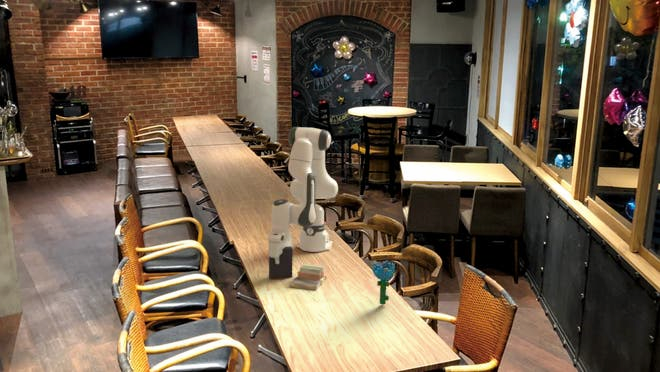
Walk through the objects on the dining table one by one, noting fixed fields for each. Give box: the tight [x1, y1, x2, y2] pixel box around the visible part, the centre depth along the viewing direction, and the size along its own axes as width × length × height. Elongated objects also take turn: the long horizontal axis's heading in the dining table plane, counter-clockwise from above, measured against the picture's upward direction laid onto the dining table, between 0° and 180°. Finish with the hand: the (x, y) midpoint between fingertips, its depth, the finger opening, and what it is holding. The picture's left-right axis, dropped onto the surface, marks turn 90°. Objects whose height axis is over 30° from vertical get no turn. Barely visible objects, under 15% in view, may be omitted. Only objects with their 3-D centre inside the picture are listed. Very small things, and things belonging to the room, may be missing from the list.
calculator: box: [268, 245, 294, 280], centre depth 286 cm, size 11×4×15 cm, turn 105°
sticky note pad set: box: [289, 263, 328, 291], centre depth 279 cm, size 15×13×7 cm
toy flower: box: [372, 260, 396, 306], centre depth 255 cm, size 9×9×18 cm
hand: (280, 261), depth 286 cm, fingers closed on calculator, 6 cm apart
